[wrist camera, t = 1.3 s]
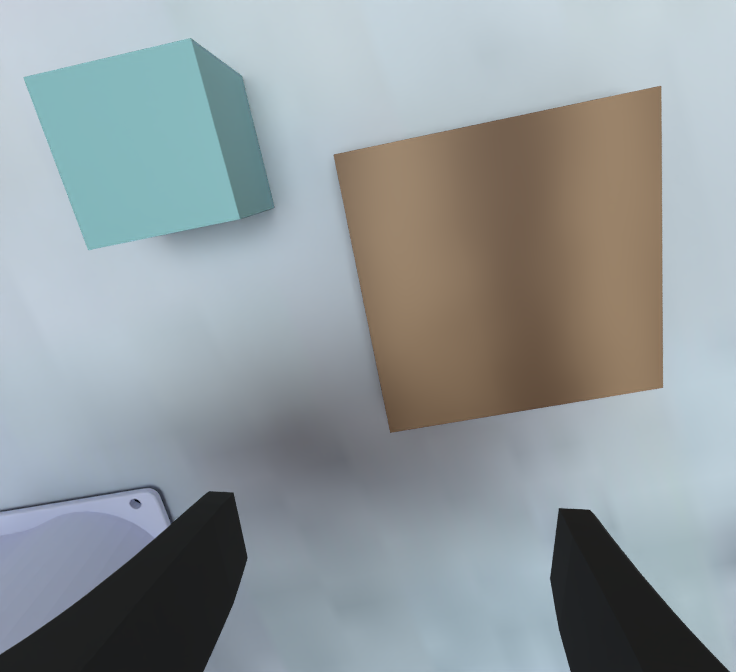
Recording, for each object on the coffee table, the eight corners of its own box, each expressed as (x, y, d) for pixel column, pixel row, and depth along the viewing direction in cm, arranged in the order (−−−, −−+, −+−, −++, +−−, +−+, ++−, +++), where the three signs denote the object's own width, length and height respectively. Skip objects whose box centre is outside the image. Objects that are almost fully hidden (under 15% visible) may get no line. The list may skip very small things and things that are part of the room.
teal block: (161, 230, 19) (88, 250, 14) (120, 103, 17) (23, 77, 12) (274, 207, 18) (239, 219, 14) (241, 76, 17) (190, 38, 12)
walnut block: (388, 398, 21) (390, 432, 18) (340, 157, 18) (333, 154, 15) (622, 357, 20) (662, 387, 18) (614, 100, 17) (661, 85, 14)
